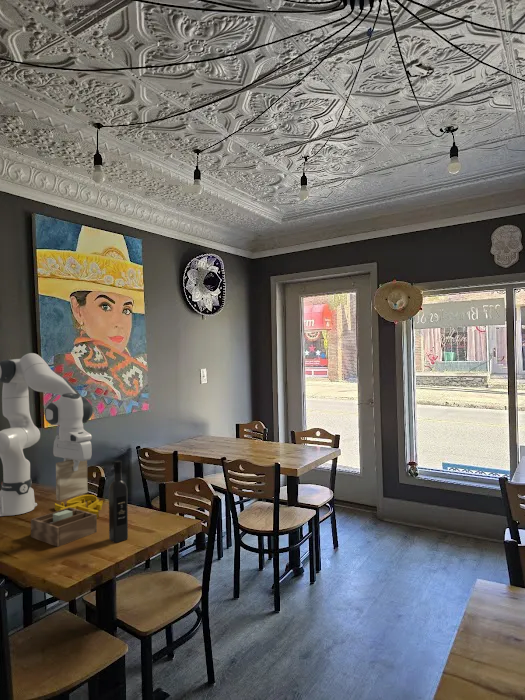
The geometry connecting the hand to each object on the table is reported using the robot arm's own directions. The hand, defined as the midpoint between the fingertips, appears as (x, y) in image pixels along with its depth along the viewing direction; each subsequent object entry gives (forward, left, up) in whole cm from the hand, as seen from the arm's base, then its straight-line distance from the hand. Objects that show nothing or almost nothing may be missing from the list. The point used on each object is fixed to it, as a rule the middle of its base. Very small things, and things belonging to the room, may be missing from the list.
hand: (71, 470), depth 179 cm
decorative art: (-25, +23, -27) cm, 43 cm away
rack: (-6, 0, -26) cm, 27 cm away
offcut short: (-6, 0, -21) cm, 21 cm away
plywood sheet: (0, 0, -10) cm, 10 cm away
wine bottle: (+17, +8, -26) cm, 33 cm away
